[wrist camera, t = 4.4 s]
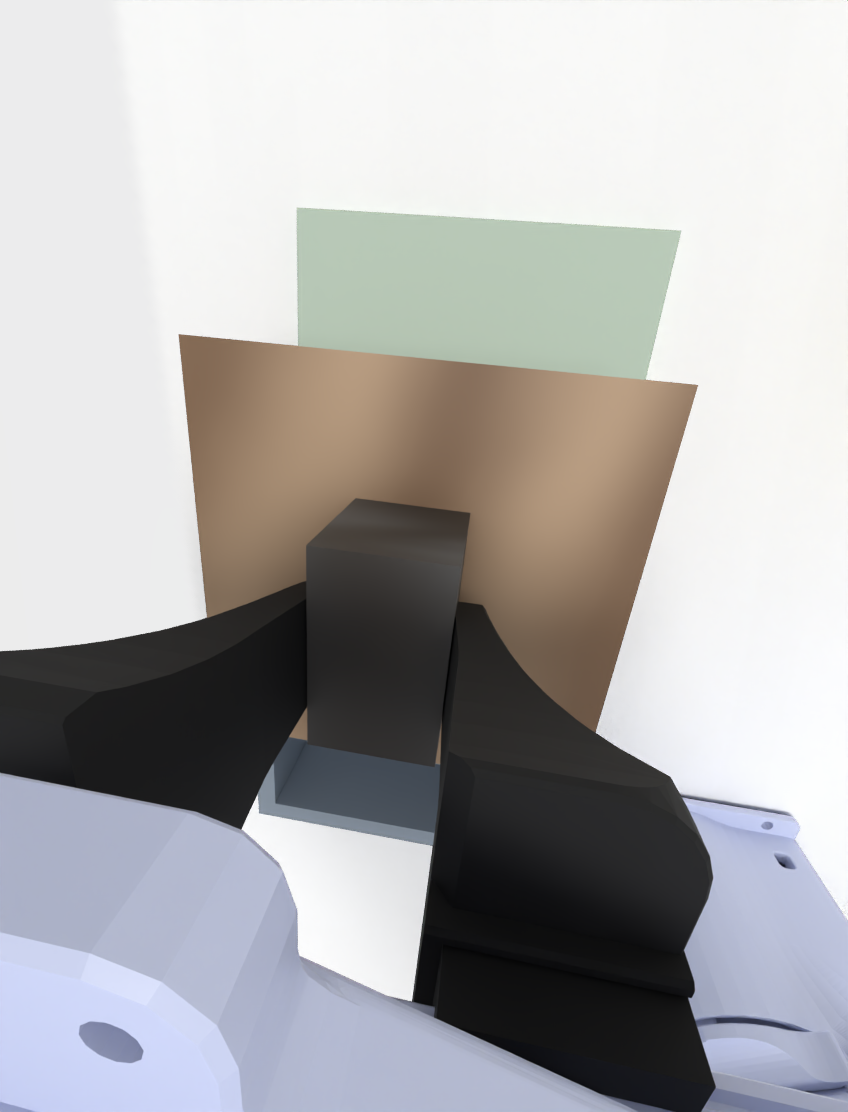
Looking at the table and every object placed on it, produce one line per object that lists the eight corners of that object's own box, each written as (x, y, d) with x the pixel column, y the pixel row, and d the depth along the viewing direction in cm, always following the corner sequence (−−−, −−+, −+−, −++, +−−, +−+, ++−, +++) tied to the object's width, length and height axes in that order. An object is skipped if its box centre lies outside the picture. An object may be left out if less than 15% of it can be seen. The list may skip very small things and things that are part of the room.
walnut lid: (684, 383, 11) (791, 394, 7) (574, 769, 16) (601, 906, 12) (197, 336, 12) (53, 321, 8) (230, 708, 17) (147, 814, 13)
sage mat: (676, 233, 16) (681, 230, 15) (592, 586, 20) (594, 590, 20) (300, 211, 17) (296, 207, 17) (303, 549, 22) (300, 552, 21)
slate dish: (506, 606, 21) (509, 662, 17) (478, 774, 25) (475, 853, 21) (293, 577, 22) (248, 623, 18) (296, 743, 26) (259, 813, 22)
